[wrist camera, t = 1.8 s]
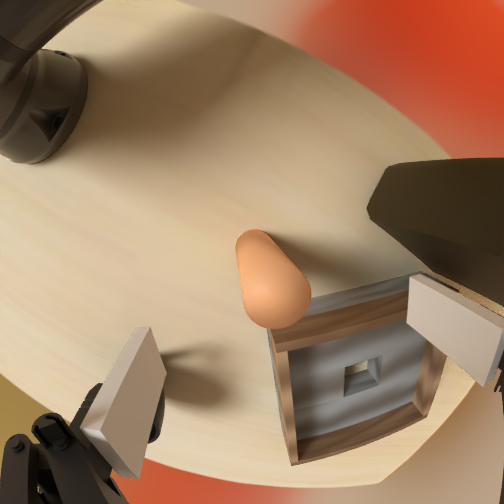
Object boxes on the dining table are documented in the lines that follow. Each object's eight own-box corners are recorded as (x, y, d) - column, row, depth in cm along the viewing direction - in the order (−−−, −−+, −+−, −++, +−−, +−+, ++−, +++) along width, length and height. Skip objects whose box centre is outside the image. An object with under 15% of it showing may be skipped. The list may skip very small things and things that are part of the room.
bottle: (433, 273, 32) (571, 349, 8) (358, 212, 29) (569, 273, 5) (456, 226, 31) (597, 271, 7) (387, 157, 28) (584, 146, 4)
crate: (263, 307, 31) (275, 344, 23) (420, 271, 32) (458, 290, 24) (281, 427, 36) (291, 466, 28) (404, 389, 37) (426, 417, 29)
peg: (232, 233, 29) (237, 272, 15) (270, 226, 29) (308, 259, 15) (238, 269, 30) (249, 334, 16) (275, 262, 30) (313, 321, 16)
